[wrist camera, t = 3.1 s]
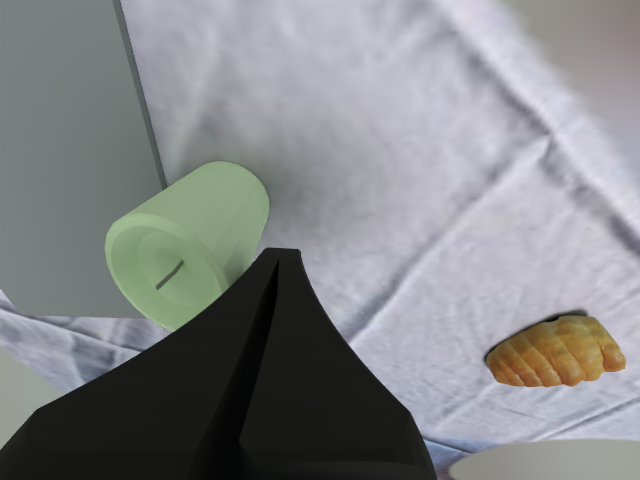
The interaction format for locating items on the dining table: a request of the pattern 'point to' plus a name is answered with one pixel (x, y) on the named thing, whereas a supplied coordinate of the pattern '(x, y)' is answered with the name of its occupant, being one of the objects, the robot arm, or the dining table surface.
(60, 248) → the mat
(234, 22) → the dining table surface
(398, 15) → the dining table surface
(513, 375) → the pastry
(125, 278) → the candle
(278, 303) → the robot arm
